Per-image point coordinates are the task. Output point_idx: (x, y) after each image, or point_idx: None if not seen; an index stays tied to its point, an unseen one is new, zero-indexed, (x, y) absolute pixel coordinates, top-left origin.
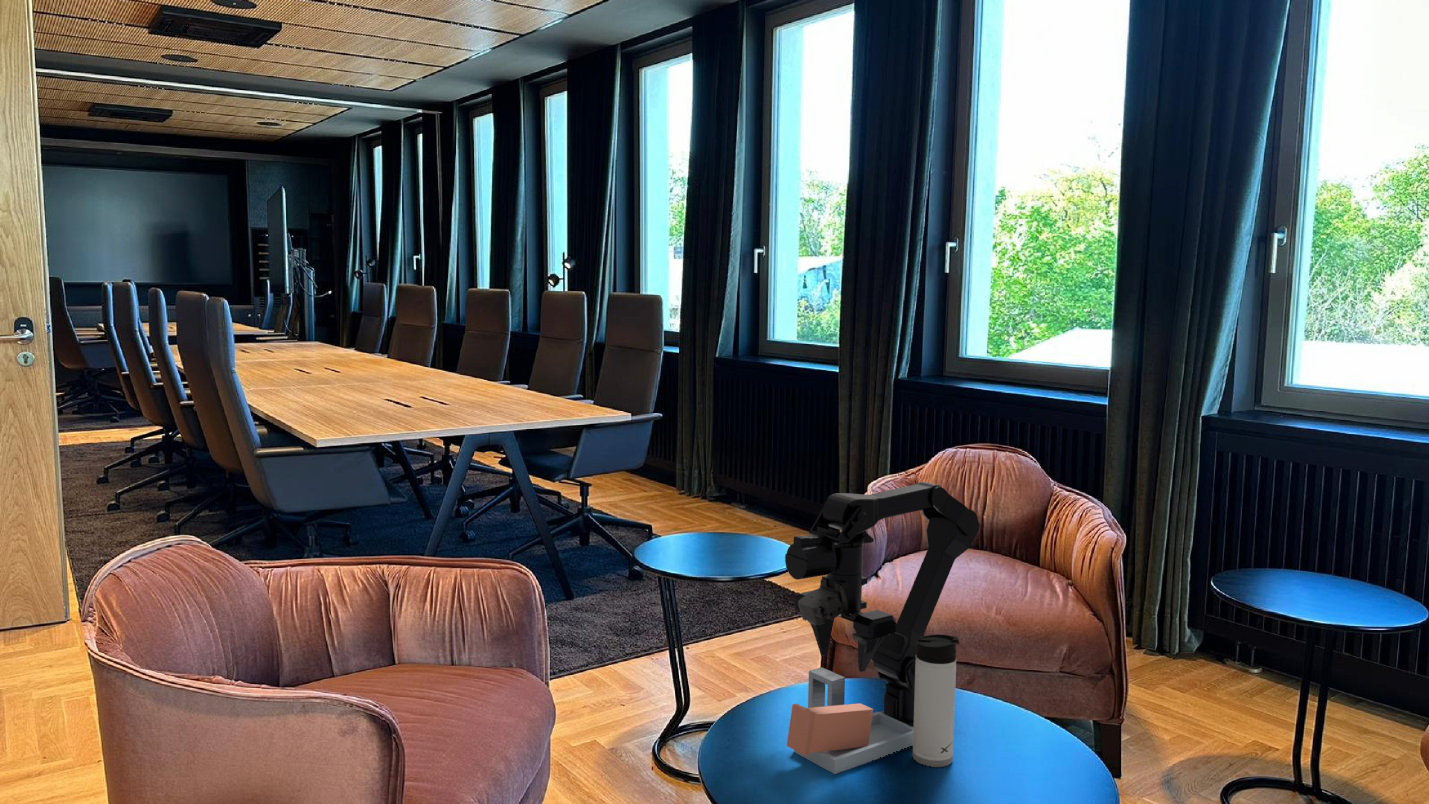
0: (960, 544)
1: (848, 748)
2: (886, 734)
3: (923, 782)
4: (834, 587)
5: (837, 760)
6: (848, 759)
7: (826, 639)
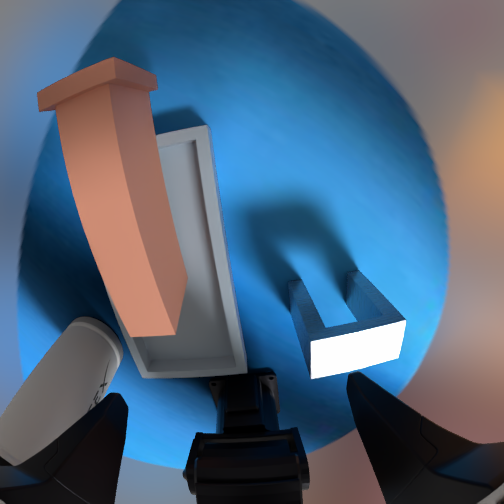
0: None
1: None
2: (185, 340)
3: (38, 280)
4: None
5: None
6: None
7: (371, 439)
